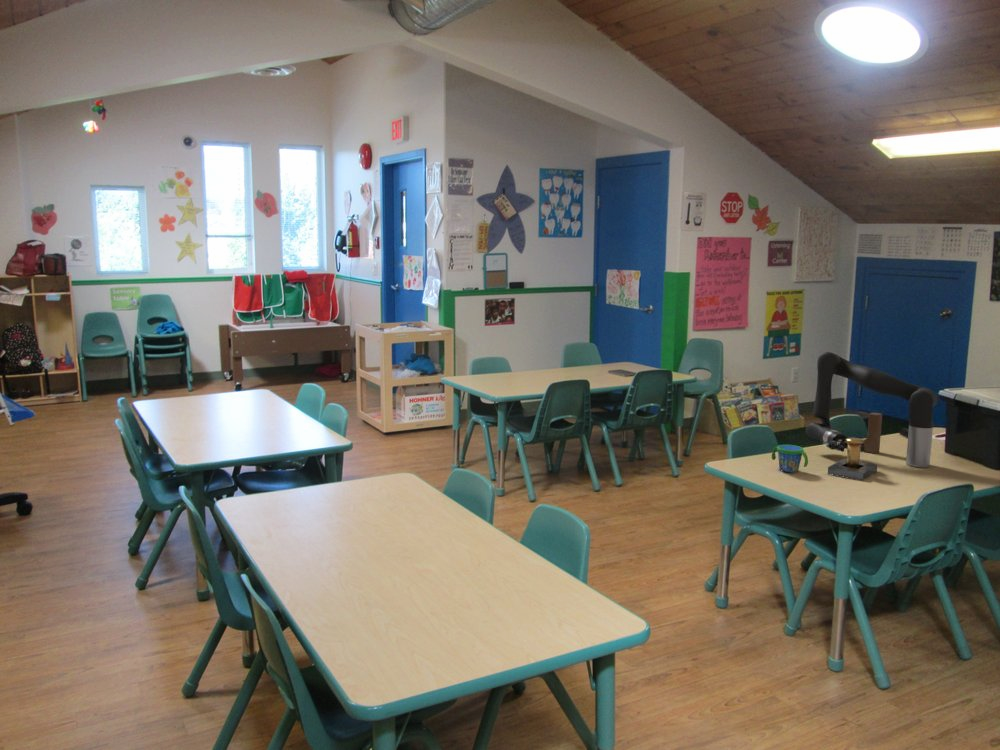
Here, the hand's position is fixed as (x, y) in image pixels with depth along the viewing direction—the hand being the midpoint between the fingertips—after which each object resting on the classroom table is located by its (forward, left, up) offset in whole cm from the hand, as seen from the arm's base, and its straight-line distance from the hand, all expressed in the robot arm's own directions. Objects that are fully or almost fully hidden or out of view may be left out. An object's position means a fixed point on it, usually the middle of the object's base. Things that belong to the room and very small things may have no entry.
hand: (853, 449), depth 351 cm
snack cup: (+15, -21, -10) cm, 28 cm away
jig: (0, 0, -10) cm, 10 cm away
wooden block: (-41, -7, -10) cm, 42 cm away
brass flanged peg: (0, 0, -10) cm, 10 cm away
